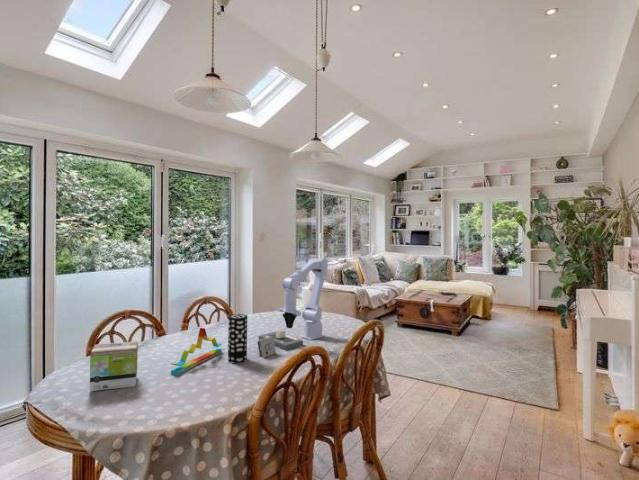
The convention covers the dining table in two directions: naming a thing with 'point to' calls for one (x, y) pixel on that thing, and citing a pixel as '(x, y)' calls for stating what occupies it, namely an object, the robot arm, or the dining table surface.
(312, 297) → the robot arm
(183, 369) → the chart
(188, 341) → the dining table surface
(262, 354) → the electrical switch
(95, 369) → the tea box
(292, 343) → the panel
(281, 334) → the block
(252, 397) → the dining table surface
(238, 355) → the white-spotted black cylinder
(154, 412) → the dining table surface
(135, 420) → the dining table surface
